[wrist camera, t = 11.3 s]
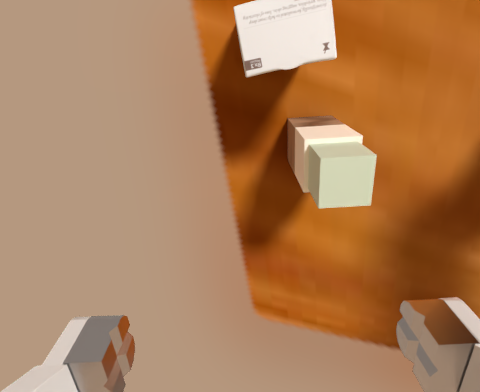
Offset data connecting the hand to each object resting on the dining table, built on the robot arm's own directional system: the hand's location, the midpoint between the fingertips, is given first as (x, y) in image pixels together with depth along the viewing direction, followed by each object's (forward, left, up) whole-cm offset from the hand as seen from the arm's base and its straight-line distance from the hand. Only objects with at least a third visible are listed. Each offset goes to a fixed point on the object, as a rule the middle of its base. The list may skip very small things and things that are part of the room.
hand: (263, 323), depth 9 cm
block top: (-9, +4, -31) cm, 33 cm away
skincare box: (-4, -9, -37) cm, 39 cm away
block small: (-9, +4, -25) cm, 27 cm away
